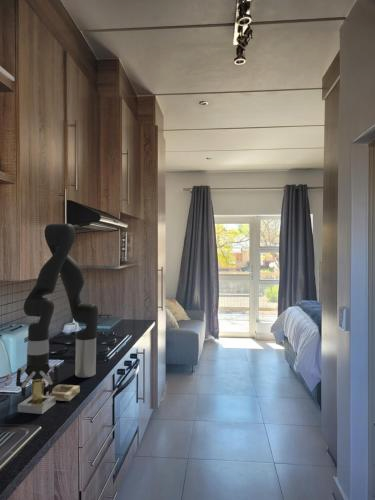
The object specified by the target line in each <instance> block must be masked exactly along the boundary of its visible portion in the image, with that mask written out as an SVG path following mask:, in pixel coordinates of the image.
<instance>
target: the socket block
mask: <svg viewBox="0 0 375 500" xmlns="http://www.w3.org/2000/svg"><path fill="white" fill-rule="evenodd" d="M56 403H57V400H56V396H46V395H43V402H42V403H41V404H32V395H29V396H28V398H25V400H23V401H21V402H20V403H18V404H17V413H24V414H25V413H26V414H27V413H28V414H36V415H37V414H38V415H43V414H45V412H47V411H48V410H49V409H51V407H53V406H54V405H55V404H56Z"/></svg>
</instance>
